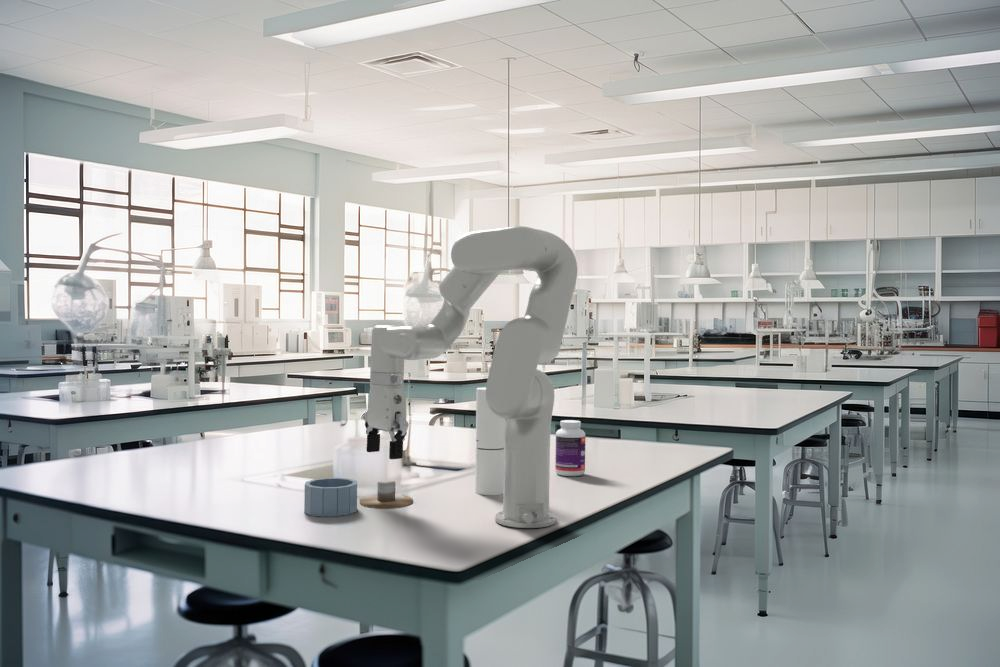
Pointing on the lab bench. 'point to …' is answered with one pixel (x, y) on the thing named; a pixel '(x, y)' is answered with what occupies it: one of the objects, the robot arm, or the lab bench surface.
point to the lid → (386, 497)
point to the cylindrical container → (488, 448)
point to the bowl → (330, 497)
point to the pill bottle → (570, 449)
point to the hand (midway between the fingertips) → (384, 455)
